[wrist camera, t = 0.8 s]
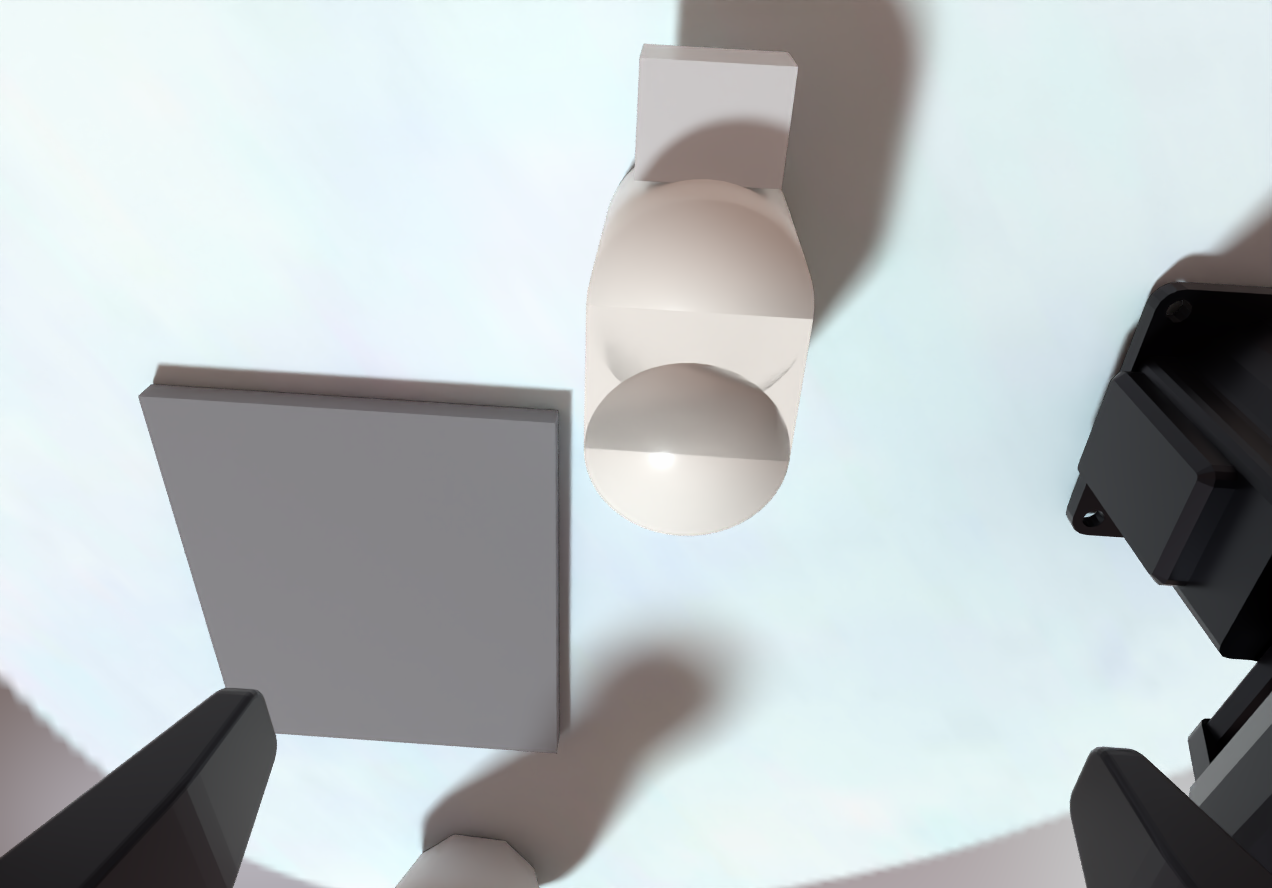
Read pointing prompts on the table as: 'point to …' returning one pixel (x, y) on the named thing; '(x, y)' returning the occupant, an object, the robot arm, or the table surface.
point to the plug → (698, 298)
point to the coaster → (373, 559)
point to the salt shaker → (470, 866)
